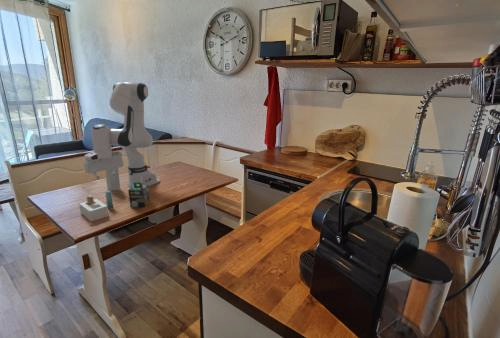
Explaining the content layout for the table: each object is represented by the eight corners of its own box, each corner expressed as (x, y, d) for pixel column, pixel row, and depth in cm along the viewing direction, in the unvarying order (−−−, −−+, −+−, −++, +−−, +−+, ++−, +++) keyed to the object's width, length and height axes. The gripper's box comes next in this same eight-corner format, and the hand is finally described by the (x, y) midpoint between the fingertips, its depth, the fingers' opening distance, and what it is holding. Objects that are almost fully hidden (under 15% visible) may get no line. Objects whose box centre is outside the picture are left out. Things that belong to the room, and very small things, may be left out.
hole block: (97, 208, 157) (96, 198, 155) (108, 215, 148) (107, 205, 147) (80, 213, 150) (79, 203, 148) (91, 221, 142) (89, 211, 140)
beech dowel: (93, 211, 153) (91, 195, 150) (96, 212, 151) (93, 196, 148) (88, 212, 151) (85, 196, 148) (90, 214, 149) (87, 198, 146)
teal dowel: (111, 205, 160) (109, 190, 157) (114, 207, 159) (112, 191, 156) (106, 207, 158) (104, 191, 155) (108, 208, 156) (106, 193, 153)
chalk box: (150, 201, 168) (148, 179, 164) (145, 207, 160) (143, 184, 155) (135, 201, 168) (133, 179, 163) (129, 207, 159) (127, 184, 155)
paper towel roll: (105, 189, 183) (101, 160, 177) (113, 187, 188) (110, 158, 182) (112, 192, 180) (108, 161, 174) (120, 189, 185) (117, 159, 179)
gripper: (118, 150, 158) (121, 172, 162) (81, 155, 143) (84, 180, 147) (124, 151, 155) (126, 174, 159) (85, 158, 139) (89, 182, 143)
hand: (106, 177), depth 153 cm, fingers open, 8 cm apart
